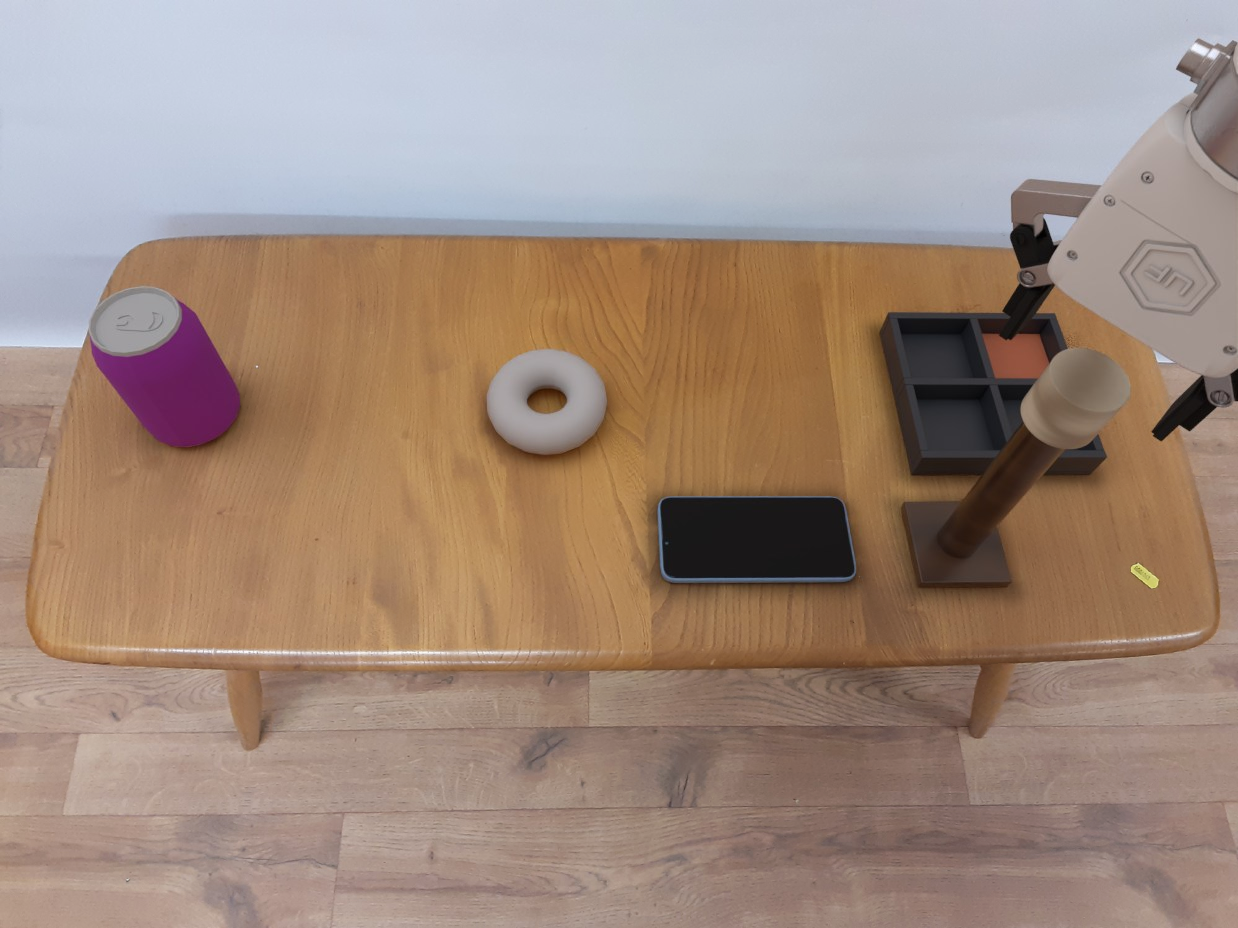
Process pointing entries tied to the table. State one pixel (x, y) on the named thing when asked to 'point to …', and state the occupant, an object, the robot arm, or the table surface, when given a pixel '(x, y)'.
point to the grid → (969, 388)
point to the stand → (975, 519)
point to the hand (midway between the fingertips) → (1088, 373)
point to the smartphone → (754, 539)
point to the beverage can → (163, 366)
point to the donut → (552, 428)
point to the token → (1075, 398)
